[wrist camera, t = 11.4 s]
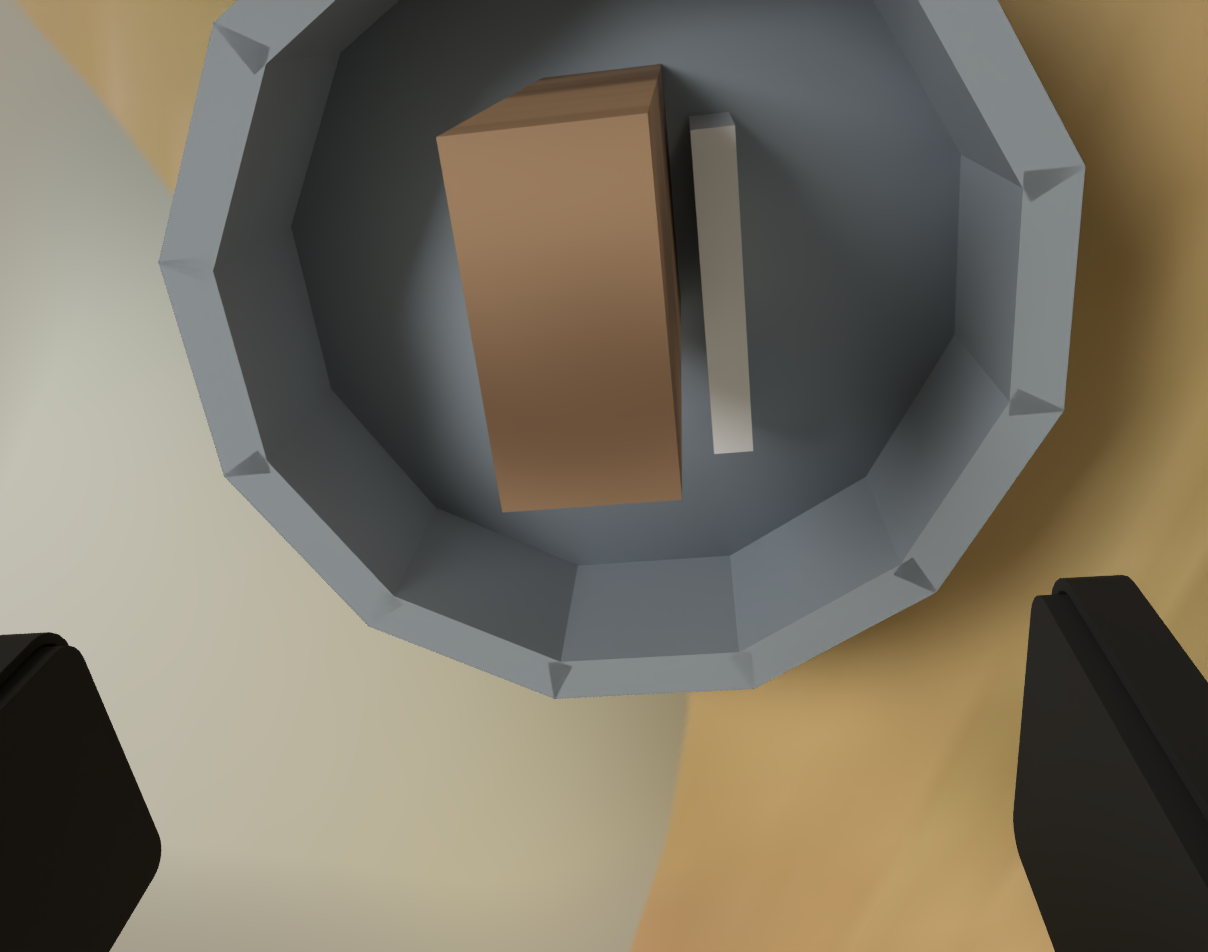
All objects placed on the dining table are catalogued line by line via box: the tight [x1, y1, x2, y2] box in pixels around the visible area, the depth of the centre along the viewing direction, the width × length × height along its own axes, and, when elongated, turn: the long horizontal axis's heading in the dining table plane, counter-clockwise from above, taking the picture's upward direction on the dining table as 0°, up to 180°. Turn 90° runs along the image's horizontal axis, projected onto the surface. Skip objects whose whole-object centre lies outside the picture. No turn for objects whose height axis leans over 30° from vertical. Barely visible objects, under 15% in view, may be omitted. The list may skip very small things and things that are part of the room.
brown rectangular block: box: [436, 64, 682, 512], centre depth 21 cm, size 6×3×12 cm, turn 6°
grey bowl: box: [159, 0, 1086, 699], centre depth 25 cm, size 20×20×6 cm
